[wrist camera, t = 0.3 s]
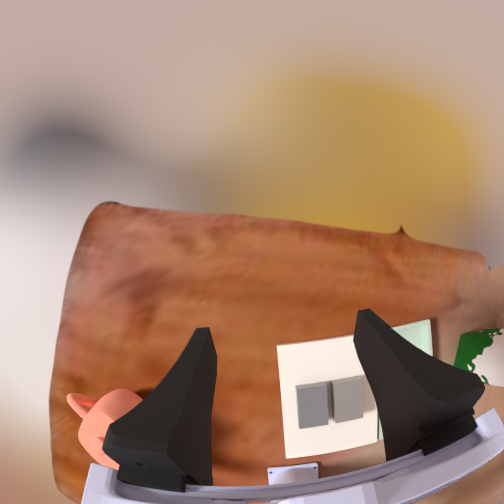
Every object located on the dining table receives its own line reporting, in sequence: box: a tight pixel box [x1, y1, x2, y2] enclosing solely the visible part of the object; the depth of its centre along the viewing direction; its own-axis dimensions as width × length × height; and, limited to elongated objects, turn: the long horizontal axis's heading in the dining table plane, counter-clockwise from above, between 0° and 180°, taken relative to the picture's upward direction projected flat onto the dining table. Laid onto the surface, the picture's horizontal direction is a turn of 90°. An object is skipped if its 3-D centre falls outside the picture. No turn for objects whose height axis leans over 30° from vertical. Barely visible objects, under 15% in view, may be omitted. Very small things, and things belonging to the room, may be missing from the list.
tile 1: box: [330, 376, 363, 423], centre depth 33 cm, size 6×4×2 cm, turn 6°
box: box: [377, 319, 433, 440], centre depth 35 cm, size 18×10×3 cm, turn 6°
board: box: [277, 334, 377, 459], centre depth 35 cm, size 18×14×3 cm
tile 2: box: [295, 382, 329, 429], centre depth 33 cm, size 6×4×2 cm, turn 6°
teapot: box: [67, 389, 143, 470], centre depth 31 cm, size 13×20×12 cm, turn 52°
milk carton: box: [454, 328, 504, 387], centre depth 26 cm, size 9×9×20 cm
